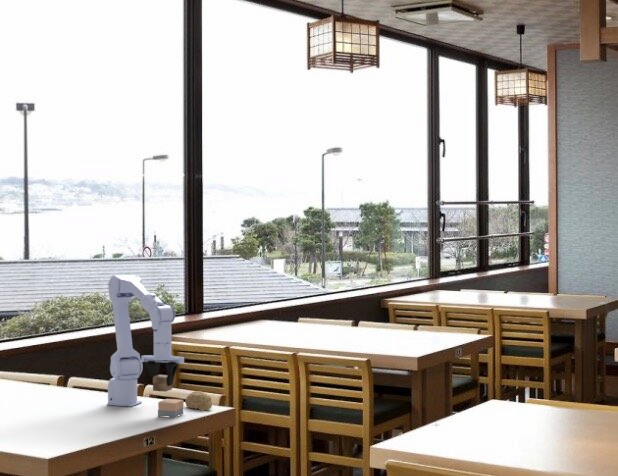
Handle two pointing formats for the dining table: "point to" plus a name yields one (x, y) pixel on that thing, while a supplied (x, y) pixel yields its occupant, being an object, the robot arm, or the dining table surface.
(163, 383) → the walnut block
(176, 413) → the slab bottom
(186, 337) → the dining table surface
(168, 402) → the slab top
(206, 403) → the stone tool
